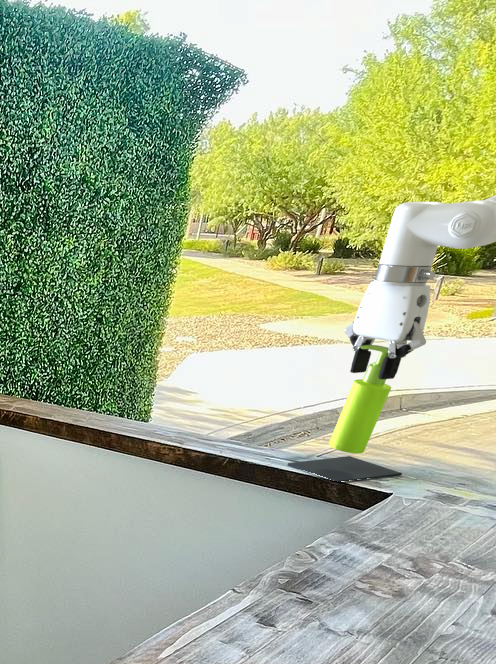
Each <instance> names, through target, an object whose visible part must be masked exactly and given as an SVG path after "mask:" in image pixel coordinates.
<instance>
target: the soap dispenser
mask: <svg viewBox="0 0 496 664" xmlns="http://www.w3.org/2000/svg"><path fill="white" fill-rule="evenodd" d="M361 349H369V350H370V351H376V352H379V354H378V356H377V359H376V361H375V362H373V363H368V366H367V369H366V371H365V372H364V373H365V374H364V376H363V378H362V379H361V378H360V379H354V381H353V382H352V384H351V387H350V390H349V392H348V395H347V398H346V399H345V402H344V405H343V407H342V410H341V412H340V415H339V417H338V420H337V422H336V425H335V427H334V429H333V432H332V434H331V437H330V439H329V442H328V446H329V447H331V449H334V450H337V451H340V452H343V453H348V454H363V453H364V452H365V450H366V448H367V445H368V444H369V441H370V438H371V437H372V434H373V431H374V429H375V427H376V424H377V422H378V421H379V417H380V415H381V413H382V411H383V408H384V406H385V404H386V401H387V399H388V397H389V394H390V393H391V389H392V386H390V385H389V384H387V383H386V380H387V379H379V374H380V370H381V367H382V364H383V361H384V358H386V357H389V346H384V345H378V344H372V345H363V346H361Z"/></svg>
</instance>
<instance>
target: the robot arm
mask: <svg viewBox="0 0 496 664" xmlns="http://www.w3.org/2000/svg"><path fill="white" fill-rule="evenodd" d="M493 243H496V194H495V195H493V196H491V197H488V198H486V199H482V200H481V199H480V200H471V201H461V202H452V203H445V202H442V201H406V202H403V203H400V204H398V206H396V207H395V209H394V212H393V214H392V217H391V220H390V224H389V228H388V231H387V235H386V238H385V242H384V244H383V248H382V251H381V257H380V259H379V264H378V266H377V270H376V272H375V277H374V280H373V281H370V283H369V284H368V286H367V288H366V290H365V292H364V295H363V297H362V300H361V301H360V303H359V306H358V310H357V312H356V315H355V318H354V320H353V321H352V322H351V323H350V324H349V325H348V326H346V327H345V328H344V333H345V335H346V336H347V337H348V338H349V341H350V343H351V345H352V351H353V352H354V355H353V359H352V362H351V367H350V373H351V374H358V373H360V374H361V373H366V371H367V369H368V366H369V364H370V359H371V356H372V350H370V349H361V346H363V345H374V342H375V340H381V341H387V342H388V348H389V357H386V358H384V361H383V364H382V367H381V370H380V374H379V379H386V380H393V379H395V377H396V375H397V373H398V371H399V368H400V364H401V361H402V358H406V356H407V355H408V354H410V353H412V352H413V351H415V350H416V349H419V348H421V347H423V346H425V345H426V344H427V340H426V337H425V335H424V329H425V326H426V321H427V318H428V314H429V313H428V312H429V308H430V301H431V285H429V284H427V282H428V280H433V279H434V278H435V276H436V272H435V271H434V270H433V271H432V265H433V262H434V260H435V256H436V253H437V250H438V247H439V246H440V247H446V248H450V249H451V248H452V249H460V250H461V249H462V250H464V249H472V248H477V247H484V246H488V245H490V244H493ZM408 341H409V342H408Z"/></svg>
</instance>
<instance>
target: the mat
mask: <svg viewBox="0 0 496 664" xmlns="http://www.w3.org/2000/svg"><path fill="white" fill-rule="evenodd" d="M287 466H289V467H291V466H292V468H294V469H297V470H299V469H301V470H300V471H302V470H305V471H308V472H311V473H315V474H317V475H320V476H323V477H326V478H328V479H331V480H334V481H337V482H341V481H349V480H357V479H367V478H376V479H383V478H391V477H392V478H393V477H401V476H402V475H403V472H400V471H396V470H394V469H390V468H388V467H385V466H381V465H378V464H376V463H372V462H369V461H366V460H363V459H361V458H357V457H354V456H351V455H346V456H337V457H331V458H329V457H328V458H320V459H311V460H303V461H302V460H301V461H294V462H288V463H287ZM305 471H304V472H305ZM308 472H307V473H308Z"/></svg>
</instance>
